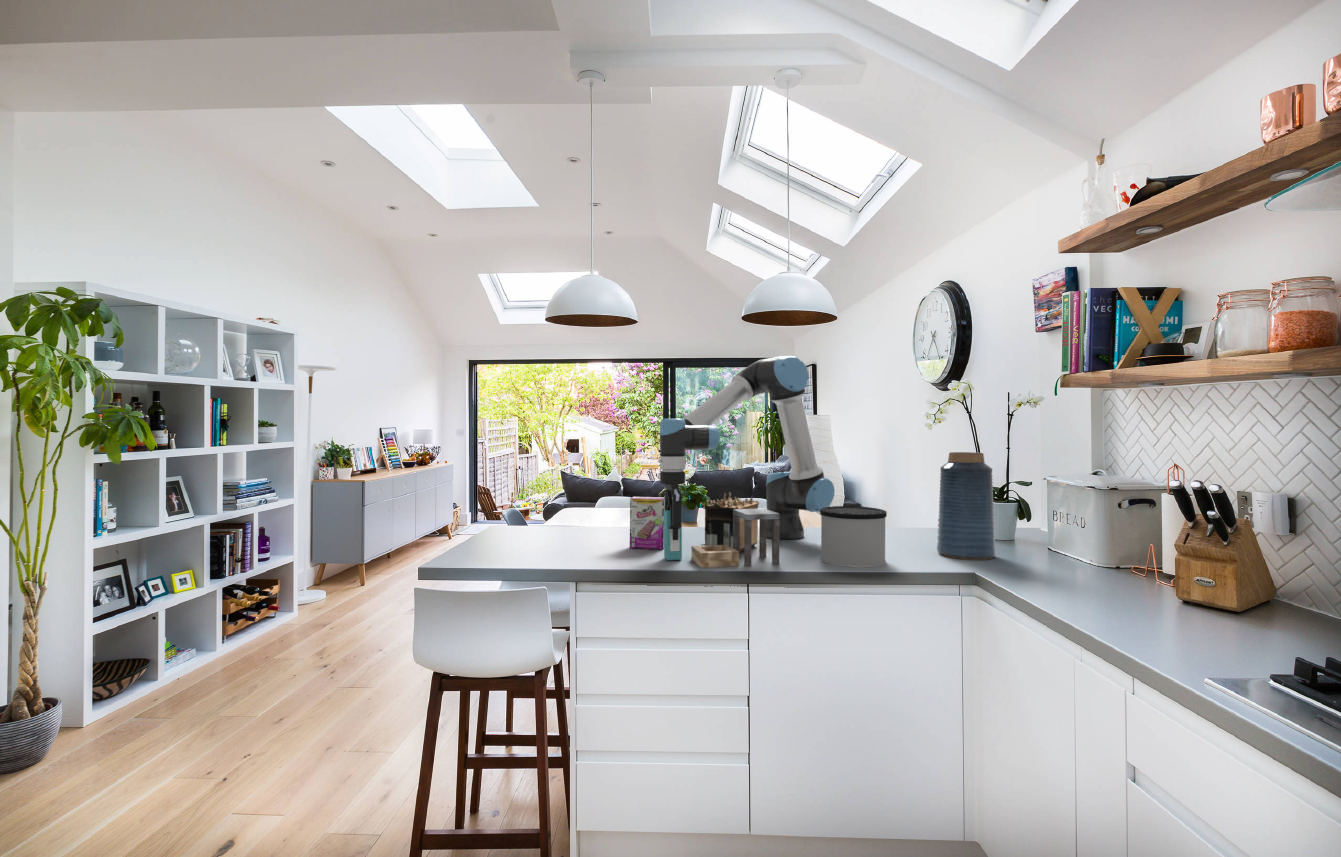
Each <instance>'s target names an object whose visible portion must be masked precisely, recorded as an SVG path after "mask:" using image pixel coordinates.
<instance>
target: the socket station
mask: <svg viewBox="0 0 1341 857" xmlns="http://www.w3.org/2000/svg"><path fill="white" fill-rule="evenodd" d="M740 518H743V519H744V553H743V556H744V557H743V562H744V563H743V564H744V566H746V567H749V566H750V567H751V566H752V549H751V543H752V520H758V524H759V526H758V530H759V537H758V538H759V545H758V546H759V548H758V549H759V551H758V552H759V553H758V554H759V555H758V556H759V557H760V558H767V537H766V519H772V538H771V564H772V565H776V566H777V565H780V539H779V513H776V512H773V511H770V510H767V508H758V509H733V548H732V547H730V546H728V545H707V546H705V545H703V546H701V545H692V546H691V561H693V562H694V563H695V564H696V565H698V567H700V568H718V567H719V568H722V567H739V564H740V563H739V561H740V558H741V556H740V555H741V554H740Z"/></svg>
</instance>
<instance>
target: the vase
mask: <svg viewBox="0 0 1341 857" xmlns="http://www.w3.org/2000/svg"><path fill="white" fill-rule="evenodd" d="M939 474H940V476H939V479H940V480H939V495H938V496H939V501H938V502H939V503H938V506H939V507H938V519H937V527H938V528H937V544H936V549H937V551H936V552H938V553H939V554H940V555H941V556H943V557H947V558H951V559H957V560H965V561H985V560H990V559H993V558H994V557H995V555H996V539H995V538H996V536H995V534H996V533H995V529H996V528H995V521H994V520H995V518H994V513H995V512H994V508H995V507H994V492H993V491H994V485H993V467H991V466H989V465H988V464H986V463H985V456H984V453H983V452H965V451H964V452H961V451H959V452H958V451H957V452H956V451H951V452H950V451H949V453H948V458H947V462H946V463H945V464H943V465H942V466H940V473H939Z"/></svg>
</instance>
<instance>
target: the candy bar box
mask: <svg viewBox="0 0 1341 857" xmlns="http://www.w3.org/2000/svg"><path fill="white" fill-rule="evenodd" d="M629 506H630V508H629V549H632V548H635V549H636V548H641V549H640V550H664V510H665V497H661V496H660V497H659V496H657V497H655V496H654V497H653V496H632V497H630V500H629ZM635 549H634V550H635ZM636 550H637V549H636Z"/></svg>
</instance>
